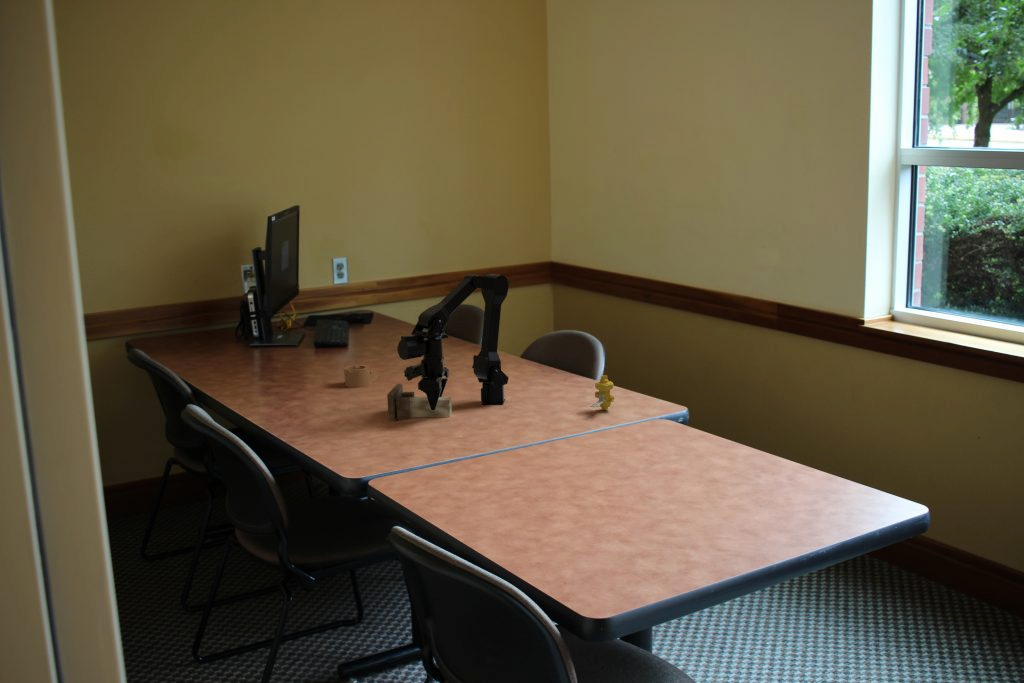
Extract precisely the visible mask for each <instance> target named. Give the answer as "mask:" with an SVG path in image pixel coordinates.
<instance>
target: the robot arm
mask: <svg viewBox="0 0 1024 683" xmlns="http://www.w3.org/2000/svg"><path fill="white" fill-rule="evenodd" d="M477 289H481V291H480V292H481V296H482V298H483V301H484V314H483V325H482V335H481V348H480V351H479V352H478V354H477V355H475V354H474V355H473V357H472V360H473V362H472V367H471V369H473V374H474V375H475V377H477V380H478V381H477V382H479V383H481V384H482V386H481V388H480V402H481V405H482V406H503V405H504V404H505V401H506V398H505V387H504V386H505V385H507V384H508V382H509V378H510V377H509V376H508V375H506V373H505V372H504V371H503V370H502V361H501V359H500V356H499V352H498V346H499V345H498V344H499V336H500V335H499V334H500V324H501V312H502V304H503V303H504V301H505V300H506V298H507V297H508V292H509V289H510V282H509V279H508V278H507V276H505V275H502V274H493V273H488V274H485V275H484V276H481V275H479V274H478V275H477V274H471V273H468V274H467V275H465V276H464V277H463V279H462V280H461V281H460V282H459V283H458V284H457V285H456V286H455V287H454V288H452V289H451V291H450V292H449V293H448V294H447V295H446V296H445V297H443V298H442V299H441V301H439V302H437V303H436V304H434V305H432V306H430V307H428V308H427V309H425V310H424V311H422V312H421V313H420V314H419V315H418V317H417V319H418V320H417V322H416V324H415V326H414V327H413V330H412V332H411V334H410V335H401V336H400V340H399V342H398V343H397V348H396V349H397V354H398V355H399V356H398V357H399V358H400V359H401V360H403V361H404V360H411V359H416V358H422V359H421V360H420V363H417V364H414V365H410V366H406V368H405V369H404V370H403V373H404V374H403V375H404V378H406V380H407V381H408V382H409V381H410V382H411V381H412V380H413V379H415V378H418V377H421V379H420V380H419V381H418V383H417V388H418V390H419V391H421V392H423V393H424V394H425V396H426V397H427V398H428V401H429V404H430V408H431V410H435V409H436V405H437V402H438V399H439V397H443V394H444V391H445V388H446V386H447V382H448V378H450V369H449V368H448V367H447V366H444V361H445V356H443V355H444V354H443V339H447V338H449V335H448V334H446V332H445V331H444V329H445V327H446V326H447V324H448V323H449V321H450V318H451V315H452V313H454V312H455V311H456V310H457V308H459V307H460V306H461V305H462V304H463V303H464V302H465V301H466V300H467V299H468V298H469V297H470V296H471V295H472V294H473V293H474V292H475V291H476V290H477ZM444 377H445V378H444Z"/></svg>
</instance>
